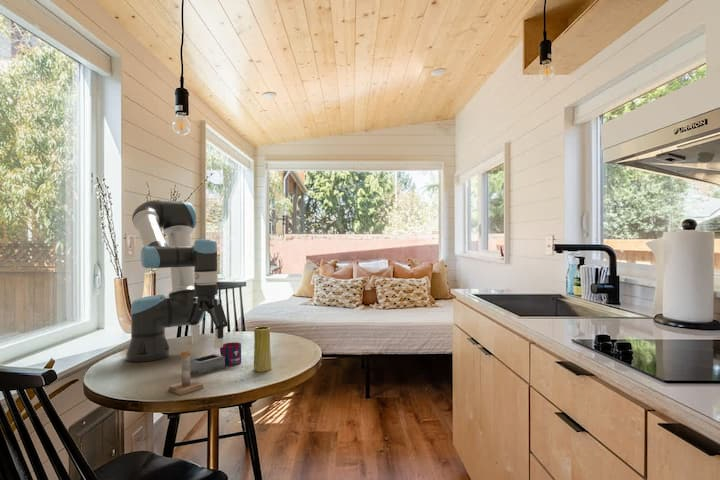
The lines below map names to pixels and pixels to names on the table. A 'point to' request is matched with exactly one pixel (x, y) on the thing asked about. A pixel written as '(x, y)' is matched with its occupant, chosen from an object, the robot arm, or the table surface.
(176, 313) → the robot arm
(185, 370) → the keeper post
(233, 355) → the mug
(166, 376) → the table surface
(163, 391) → the table surface
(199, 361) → the link
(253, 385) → the table surface
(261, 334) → the vase
